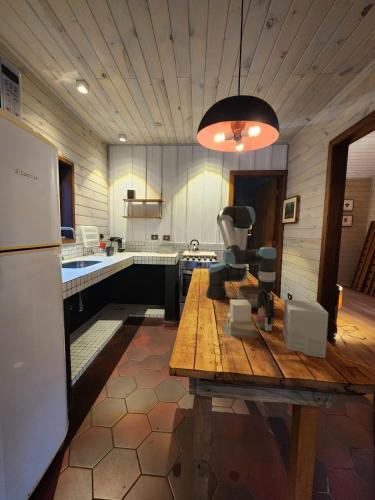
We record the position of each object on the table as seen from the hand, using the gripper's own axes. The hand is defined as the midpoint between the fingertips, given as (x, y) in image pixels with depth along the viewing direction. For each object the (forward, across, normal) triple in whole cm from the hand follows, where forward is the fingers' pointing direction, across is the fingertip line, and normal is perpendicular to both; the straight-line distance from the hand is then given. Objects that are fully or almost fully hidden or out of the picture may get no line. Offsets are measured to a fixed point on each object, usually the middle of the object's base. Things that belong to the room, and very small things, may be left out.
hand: (264, 325), depth 105 cm
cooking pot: (+2, -29, +2) cm, 29 cm away
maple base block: (0, +4, -13) cm, 14 cm away
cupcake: (+2, 0, 0) cm, 2 cm away
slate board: (+2, +4, -13) cm, 14 cm away
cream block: (-6, +4, -13) cm, 15 cm away
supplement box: (+2, +16, +10) cm, 19 cm away
